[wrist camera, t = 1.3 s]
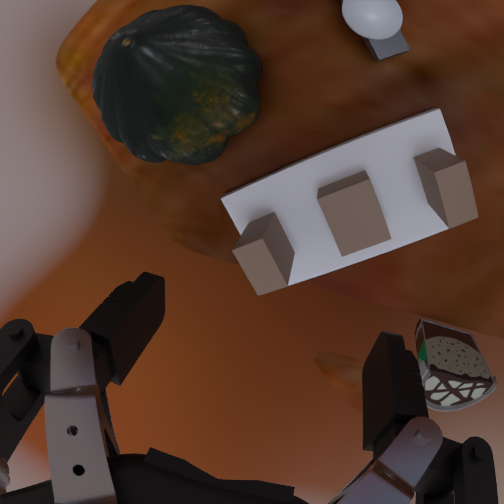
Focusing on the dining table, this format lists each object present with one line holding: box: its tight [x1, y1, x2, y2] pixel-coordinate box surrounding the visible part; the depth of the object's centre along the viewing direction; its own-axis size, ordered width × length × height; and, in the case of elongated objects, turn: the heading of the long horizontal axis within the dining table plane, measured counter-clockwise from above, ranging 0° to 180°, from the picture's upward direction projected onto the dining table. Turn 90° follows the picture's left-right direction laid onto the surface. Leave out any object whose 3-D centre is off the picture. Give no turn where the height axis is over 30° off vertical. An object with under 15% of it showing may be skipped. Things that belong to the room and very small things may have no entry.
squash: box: [92, 5, 263, 165], centre depth 24 cm, size 14×15×15 cm
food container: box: [415, 318, 497, 411], centre depth 33 cm, size 12×6×10 cm, turn 76°
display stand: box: [221, 108, 478, 296], centre depth 28 cm, size 24×12×8 cm, turn 118°
